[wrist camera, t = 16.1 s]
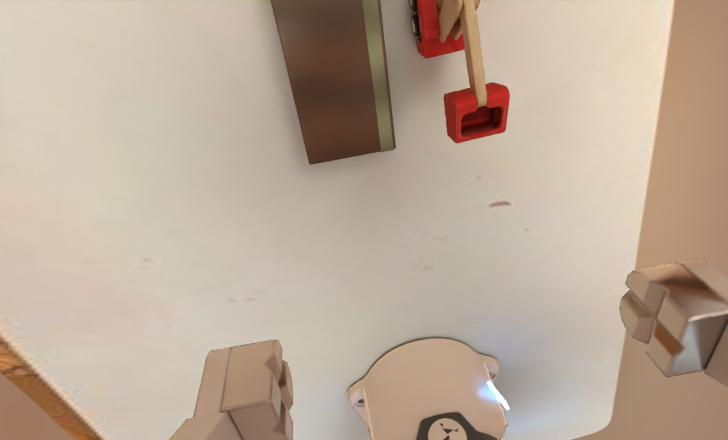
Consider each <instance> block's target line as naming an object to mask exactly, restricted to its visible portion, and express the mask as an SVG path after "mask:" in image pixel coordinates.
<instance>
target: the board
mask: <svg viewBox="0 0 728 440" xmlns="http://www.w3.org/2000/svg"><path fill="white" fill-rule="evenodd" d="M271 2H272V7H273V11H274V15H275V19H276V24H277V28H278V32H279V36H280V41H281V45H282V49H283V54H284V58H285V62H286V66H287V71H288V75H289V79H290V83H291V88H292V92H293V96H294V100H295V105H296V109H297V113H298V117H299V122H300V126H301V130H302V134H303V139H304V143H305V147H306V151H307V156H308V160H309V164H310V165H311V164H316V163H322V162H327V161H332V160H337V159H343V158H348V157H353V156H359V155H364V154H369V153H375V152H380V151H381V152H384V151H389V150H394V149H395V148H396V146H395V136H394V127H393V118H392V109H391V99H390V90H389V81H388V72H387V62H386V53H385V44H384V34H383V25H382V16H381V7H380V0H271Z"/></svg>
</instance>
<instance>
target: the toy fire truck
mask: <svg viewBox="0 0 728 440" xmlns="http://www.w3.org/2000/svg"><path fill="white" fill-rule="evenodd" d="M479 3H480V0H409V4H410V7H411V9H412V10H413V11H416V10H418V15H414V16H412V18H411V25H412V30H413V33H414V35H415V36H421V38H419V39H417V45H418V51H419V52H420V54H421V55H422V56H424V58H431V57H436V56H439V55H443V54H448V53H452V52H456V51H460V50H464V49H465V54H466V62H467V69H468V75H469V82H470V88H467V89H463V90H460V91H454V92H450V93H447V94H444V98H443V99H444V106H445V116H446V127H447V134H448V136H449V137H450V138H451V139H452V140H453V141H454V142H455V143H461V142H465V141H469V140H473V139H477V138H481V137H485V136H490V135H494V134H498V133H503V132H505V130H506V123H507V114H508V106H509V97H510V94H509V90H508V88H507V87H506V86H504V85H500V84H497V83H488V84H485V78H484V70H483V62H482V54H481V47H480V39H479V31H478V24H477V15H476V10H477V8H478V6H479Z"/></svg>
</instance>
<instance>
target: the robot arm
mask: <svg viewBox="0 0 728 440" xmlns="http://www.w3.org/2000/svg"><path fill="white" fill-rule="evenodd" d="M625 284H626V286H627V287H628V288H629V289H630V290H629V291H628V292H627V293H626V294H625V295H624V296H623V297H622V298H621V303H620V308H619V310H620V314H621V319H622V322H623V324H624V326H625V328H626V329H627V330H628V332H629V333H630V334H631V335H632V337H633V338H635V339H637V340H639V341H641V342H643V343H645V344H646V354H647V355H648V356H649V357H650V358H651V360H652V361H653V362H654V363H655V364H656V366H657V367H658V368H659V369H660V370H661V372H662V373H663V374H664V375H665V376H666V377H671V376H677V375H683V374H689V373H695V372H701V371H705V372H704V373H705V374H707V375H709V376H710V377H712V378H714V379H715V380H717V381H719V382H721V383H722V384H724V385H726V386H727V387H728V278H727V277H725V276H724V275H722V273H720V272H719V271H718V270H717V269H715V268H714V267H713V266H712V265H710V264H709V263H708V262H707V261H705V260H702V259H699V258H695V259H690V260H685V261H680V262H675V263H669V264H664V265H659V266H654V267H649V268H645V269H639V270H634V271H632V272H631V273H630V274H629V275H628V276H627V280H626V283H625ZM498 371H499V365H498V362H497V360H496V359H495V358H493V357H490V356H486V355H481V354H478V353H477V352H475V351H474V350H473V349H471V348H470V347H469V346H467V345H465V344H463V343H461V342H458V341H455V340H450V339H442V338H434V339H424V340H418V341H414V342H411V343H407V344H405V345H402V346H400V347H397V348H395V349H394V350H392V351H390V352H388V353H387V354H385V355H384V356H383V357H381V358H380V359H379V360H378V361H377V362H376V363H375V364H374V365H373V366H372V368H371V369H370V371H369V372H368V374H367V375H366V376H365V377H364V378H363V379H361V380H360V381H358V382H357V383H355V384H354V385H353V386H351V387H350V388H349V390H348V396H349V400H350V402H351V403H352V405H353V406H354V408H355V409H356V411H357V412H358V414H359V416H360V417H361V419H362V420H363V422H364V423H365V425H366V426H367V428H368V429H369V431H370V434H371V440H501V438H502V437H503V435H504V433H505V428H506V427H507V420H506V417H505V414H504V411H503V408H502V406H501V403H502V404H503V406H504V407H505V408H506V409H507V410H509V407H508V404H507V402H506V401H505V399H504V398H503V397H502V396H501V394H500V393H499V392H498V391H497V390H496V388H495V387H494V383H495V380H496V377H497V374H498ZM500 402H501V403H500ZM292 405H293V387H292V378H291V374H290V369H289V366H288V364H287V362H285V361H284V360H282V347H281V345H280V342H279V340H270V341H263V342H257V343H251V344H245V345H239V346H233V347H229V348H223V349H217V350H211V351H210V352H209V354H208V355H207V357H206V361H205V366H204V370H203V375H202V379H201V384H200V388H199V393H198V398H197V402H196V407H195V411H194V416H193V418H190V419H186V420H185V421H184V423H183V424H182V425H181V426H180V427H179V429H178V430H177V431H176V432H175V433H174V435H173V436H172V437H171V438H170V439H169V440H293V421H292V419H291V416H290V413H289V409H290V408H291V406H292Z"/></svg>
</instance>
